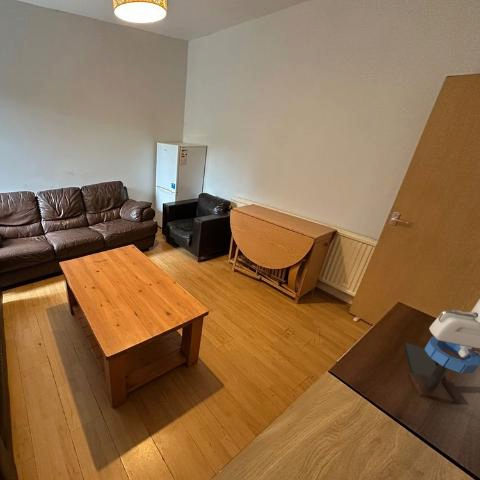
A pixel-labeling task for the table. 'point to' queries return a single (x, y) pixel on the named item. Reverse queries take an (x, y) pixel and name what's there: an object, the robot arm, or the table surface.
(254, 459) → the table surface
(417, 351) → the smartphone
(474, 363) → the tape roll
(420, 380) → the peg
